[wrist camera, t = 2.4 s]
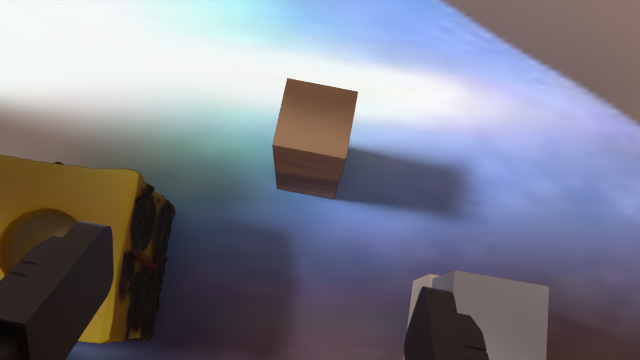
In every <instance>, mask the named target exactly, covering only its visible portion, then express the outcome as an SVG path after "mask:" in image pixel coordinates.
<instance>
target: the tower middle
mask: <svg viewBox="0 0 640 360" xmlns="http://www.w3.org/2000/svg"><path fill="white" fill-rule="evenodd" d="M432 288H437V289H442V290H448V291H452V292H453V294H454V298H455V303H456V308H457V313H460V314H465V315H471V317H472V318H473V320H474V321H475V322H476V324H477V325H478V327H479V328H480V329H481V331H482V332H483V336H484V341H485V345H486V349H487V350H486V353H488V357H489V360H546V351H547V328H548V304H549V286H543V285H537V284H532V283H526V282H520V281H515V280H509V279H503V278H497V277H492V276H486V275H480V274H475V273H469V272H463V271H457V270H454V271H451V272H448V273H446V274H443V275H441V276H438V277H436V278H433V279H432Z"/></svg>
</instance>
